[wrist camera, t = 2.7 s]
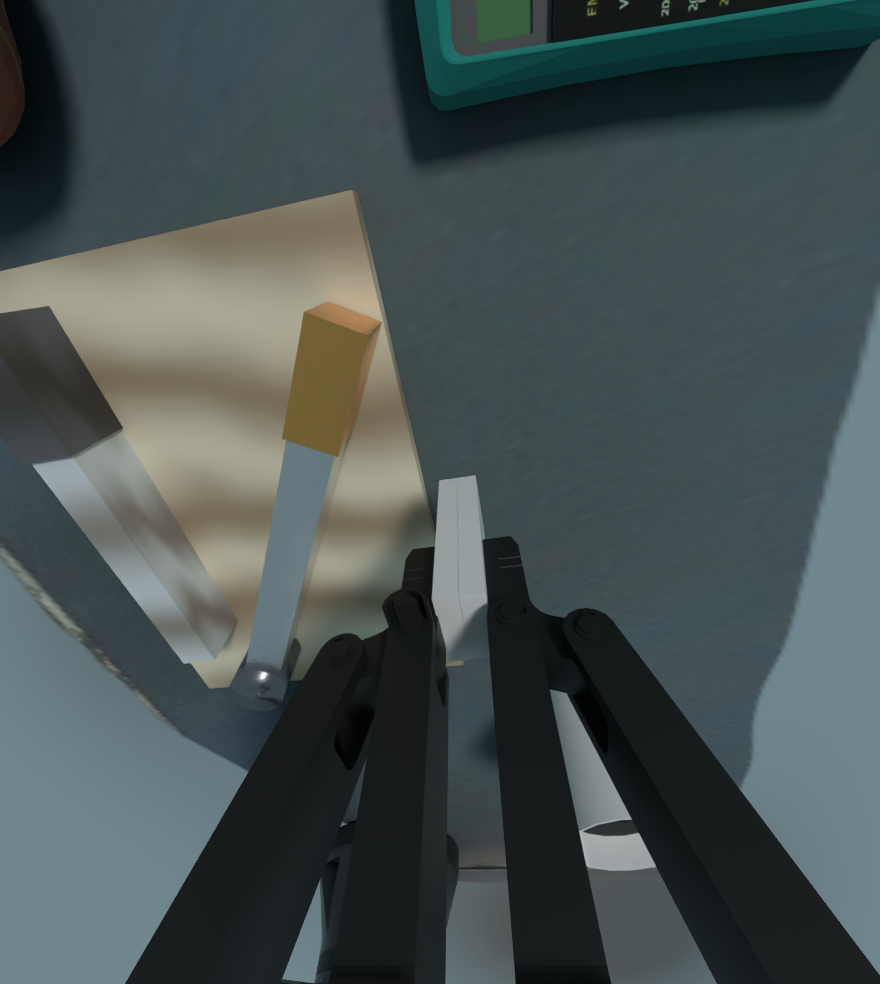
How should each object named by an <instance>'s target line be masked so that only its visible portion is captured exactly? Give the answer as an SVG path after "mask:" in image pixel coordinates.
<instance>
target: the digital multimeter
mask: <svg viewBox="0 0 880 984" xmlns="http://www.w3.org/2000/svg"><path fill="white" fill-rule="evenodd" d="M414 1H415V8H416V16H417V23H418V29H419V36H420V43H421V49H422V56H423V62H424V69H425V75H426V82H427V88H428V94H429V97H430V100H431V103H432V104H433V105H434V107H435V108H436V109H437V110H441V111H449V110H454V109H459V108H463V107H468V106H472V105H477V104H482V103H486V102H491V101H495V100H500V99H505V98H509V97H514V96H518V95H523V94H528V93H532V92H537V91H541V90H546V89H551V88H555V87H560V86H564V85H570V84H576V83H582V82H587V81H593V80H599V79H605V78H610V77H616V76H622V75H628V74H633V73H639V72H645V71H651V70H657V69H662V68H668V67H676V66H685V65H693V64H701V63H710V62H718V61H727V60H735V59H743V58H752V57H760V56H769V55H778V54H789V53H801V52H812V51H823V50H835V49H846V48H858V47H863V46H865V45H867V44H869V43H872V42H874V41H876V40H878V39H880V0H813V1H808V0H414ZM802 1H806V2H802ZM796 2H800V3H796ZM790 3H794V4H790ZM783 4H788V5H783ZM777 5H782V6H777ZM771 6H775V7H771ZM765 7H769V8H765ZM759 8H763V9H759ZM753 9H757V10H753ZM747 10H750V11H747ZM741 11H744V12H741ZM735 12H738V13H735ZM728 13H732V14H728ZM722 14H726V15H722ZM716 15H719V16H716ZM710 16H713V17H710ZM704 17H707V18H704ZM698 18H701V19H698ZM692 19H695V20H692ZM686 20H689V21H686ZM680 21H683V22H680ZM673 22H676V23H673ZM667 23H670V24H667ZM661 24H664V25H661ZM655 25H658V26H655ZM649 26H652V27H649ZM643 27H646V28H643ZM637 28H640V29H637ZM631 29H634V30H631ZM451 30H452V32H451ZM625 30H628V31H625ZM618 31H622V32H618ZM612 32H616V33H612ZM606 33H610V34H606ZM600 34H604V35H600ZM594 35H598V36H594ZM588 36H591V37H588ZM582 37H585V38H582ZM576 38H579V39H576ZM570 39H573V40H570ZM563 40H566V41H563ZM557 41H560V42H557ZM553 42H554V43H553Z"/></svg>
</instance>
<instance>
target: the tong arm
mask: <svg viewBox="0 0 880 984" xmlns="http://www.w3.org/2000/svg"><path fill="white" fill-rule="evenodd" d="M381 324H382V322H381V321H378V320H376V319H373V318H370V317H368V316H365V315H362V314H360V313H357V312H354V311H352V310H349V309H347V308H344V307H341V306H339V305H336V304H333V303H331V302H328V301H327V302H325V303H322V304H320V305H318V306H316V307H313V308H311V309H309V310H307V311H304V314H303V320H302V326H301V331H300V337H299V343H298V349H297V354H296V360H295V366H294V372H293V377H292V383H291V389H290V395H289V400H288V406H287V412H286V418H285V423H284V429H283V435H282V439H284V440H286V444H285V450H284V455H283V461H282V467H281V472H280V478H279V483H278V489H277V494H276V500H275V505H274V511H273V517H272V522H271V528H270V533H269V539H268V544H267V550H266V555H265V561H264V567H263V572H262V578H261V583H260V589H259V594H258V600H257V606H256V611H255V617H254V622H253V628H252V633H251V639H250V644H249V648H248V650H247V652H246V654H245V656H244V658H243V660H242V662H241V664H240V666H239V668H238V670H237V672H236V674H235V676H234V678H233V680H232V682H231V684H230V686H229V688H228V695H229V697H230V699H231V700H232V701H233V702H234V703H236V704H237V705H239V706H240V707H242V708H245V709H247V710H251V711H256V712H268V711H272V710H275V709H277V708H278V707H279V706H280V705H281V704H282V701H283V698H284V696H285V693H286V690H287V688H288V685H289V682H290V679H291V677H292V674H293V671H294V669H295V666H296V663H297V661H298V658H299V655H300V653H301V645H300V643H299V641H298V640H297V639H296V638H295V636H296V633H297V629H298V625H299V621H300V617H301V614H302V610H303V606H304V602H305V598H306V595H307V591H308V587H309V583H310V579H311V576H312V572H313V568H314V564H315V560H316V557H317V553H318V549H319V545H320V541H321V538H322V534H323V530H324V526H325V522H326V519H327V515H328V511H329V507H330V503H331V500H332V496H333V492H334V488H335V484H336V481H337V477H338V473H339V469H340V465H341V462H342V458H343V454H344V450H345V446H346V443H347V440H348V438H349V436H350V434H351V432H352V430H353V429H354V425H355V421H356V418H357V414H358V410H359V406H360V403H361V399H362V395H363V391H364V388H365V384H366V380H367V376H368V373H369V369H370V365H371V362H372V358H373V354H374V350H375V347H376V343H377V339H378V335H379V332H380V328H381Z"/></svg>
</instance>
